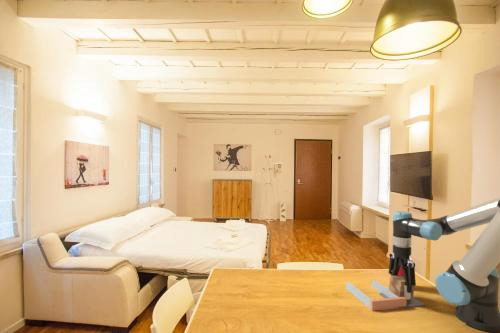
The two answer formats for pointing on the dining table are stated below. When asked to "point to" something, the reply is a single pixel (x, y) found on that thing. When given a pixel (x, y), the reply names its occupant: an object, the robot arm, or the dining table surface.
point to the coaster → (408, 302)
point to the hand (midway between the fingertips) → (401, 294)
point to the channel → (378, 304)
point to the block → (398, 286)
